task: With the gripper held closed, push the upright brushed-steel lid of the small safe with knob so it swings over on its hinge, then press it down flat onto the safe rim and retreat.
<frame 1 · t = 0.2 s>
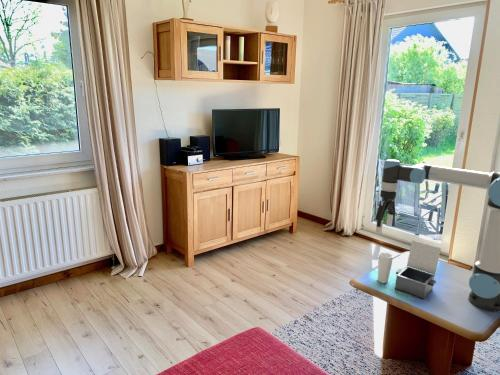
hand: (383, 229, 192), 28 cm above the table, fingers open, 13 cm apart
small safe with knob: (413, 289, 187), on the table
lid: (424, 257, 191), point 15 cm above the table, hinge at 100.0°
white hollow cylinder: (382, 281, 195), on the table
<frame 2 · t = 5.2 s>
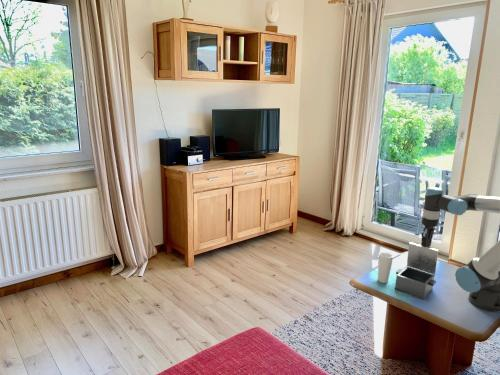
hand: (423, 259, 192), 13 cm above the table, fingers closed
lid: (422, 257, 189), point 15 cm above the table, hinge at 81.4°, touching gripper
everything else where it was.
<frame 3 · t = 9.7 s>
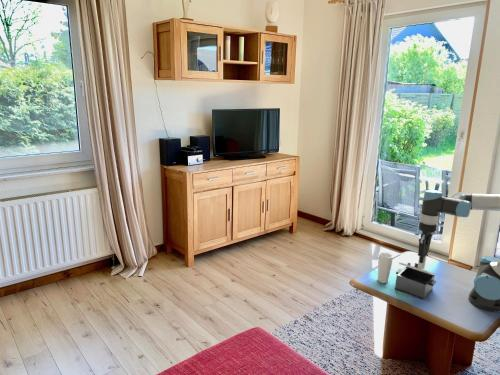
hand: (420, 268, 179), 14 cm above the table, fingers closed
lid: (417, 266, 185), point 12 cm above the table, hinge at 23.2°, touching gripper
everything else where it was.
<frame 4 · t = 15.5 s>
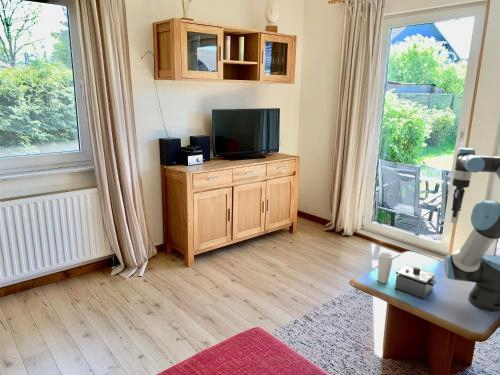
hand: (454, 222, 191), 32 cm above the table, fingers closed
lid: (416, 271, 185), point 10 cm above the table, hinge at 3.4°
everything else where it was.
at the end: lid at +3° (first picture: +100°); white hollow cylinder moved 0.2 cm from its start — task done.
